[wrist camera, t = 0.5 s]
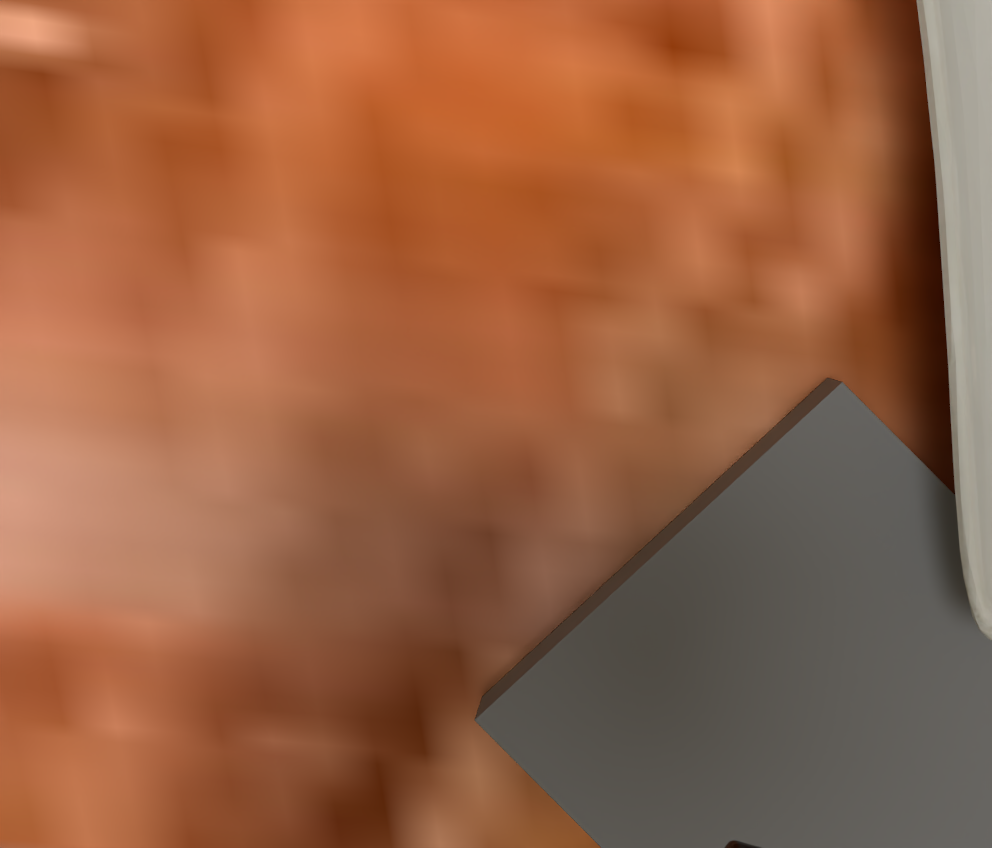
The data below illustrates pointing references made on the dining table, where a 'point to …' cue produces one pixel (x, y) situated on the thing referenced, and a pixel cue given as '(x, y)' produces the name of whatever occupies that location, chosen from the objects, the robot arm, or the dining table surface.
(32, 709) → the dining table surface
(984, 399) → the square plate
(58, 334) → the dining table surface
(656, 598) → the charcoal board
